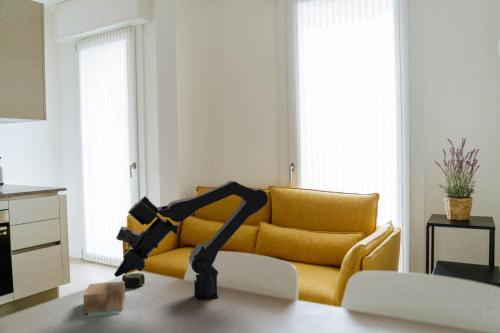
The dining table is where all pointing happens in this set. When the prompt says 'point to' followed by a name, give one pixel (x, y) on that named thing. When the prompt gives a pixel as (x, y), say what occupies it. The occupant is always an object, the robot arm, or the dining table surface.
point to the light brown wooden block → (104, 297)
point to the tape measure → (133, 279)
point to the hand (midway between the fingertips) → (115, 275)
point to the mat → (103, 313)
